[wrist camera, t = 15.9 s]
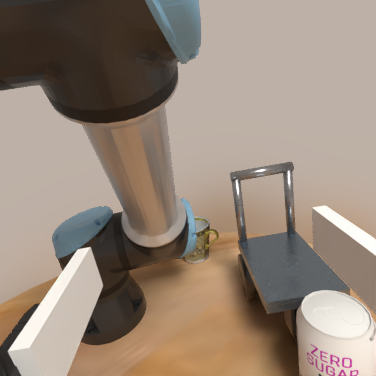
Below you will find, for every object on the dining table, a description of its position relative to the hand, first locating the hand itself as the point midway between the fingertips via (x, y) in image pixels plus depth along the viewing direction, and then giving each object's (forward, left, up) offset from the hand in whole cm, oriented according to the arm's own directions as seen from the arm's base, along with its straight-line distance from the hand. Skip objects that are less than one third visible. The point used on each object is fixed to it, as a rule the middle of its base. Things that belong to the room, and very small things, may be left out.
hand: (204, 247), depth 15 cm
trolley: (-15, +24, -32) cm, 43 cm away
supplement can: (-2, +16, -32) cm, 36 cm away
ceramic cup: (-42, +23, -32) cm, 58 cm away
